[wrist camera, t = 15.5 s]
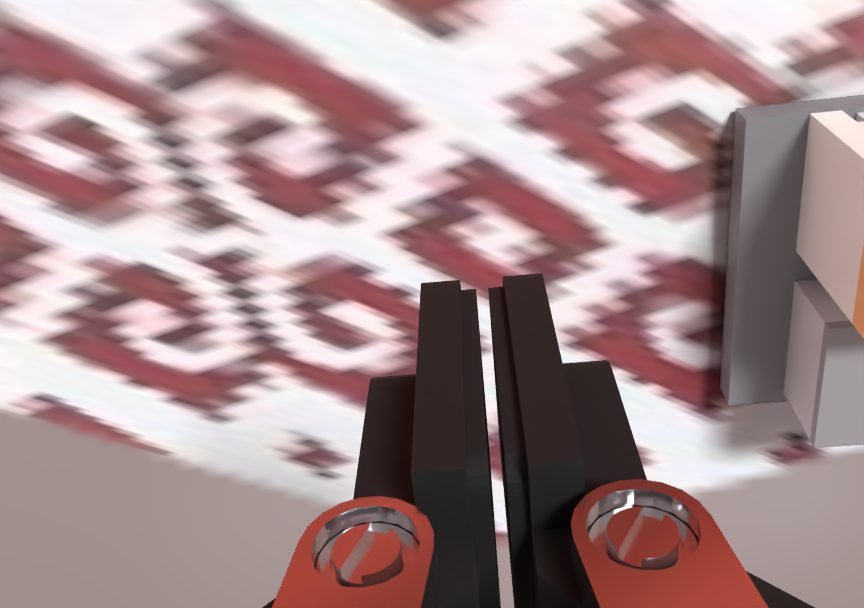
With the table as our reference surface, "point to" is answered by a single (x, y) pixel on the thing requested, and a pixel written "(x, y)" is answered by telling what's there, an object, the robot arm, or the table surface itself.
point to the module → (835, 210)
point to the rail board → (785, 285)
